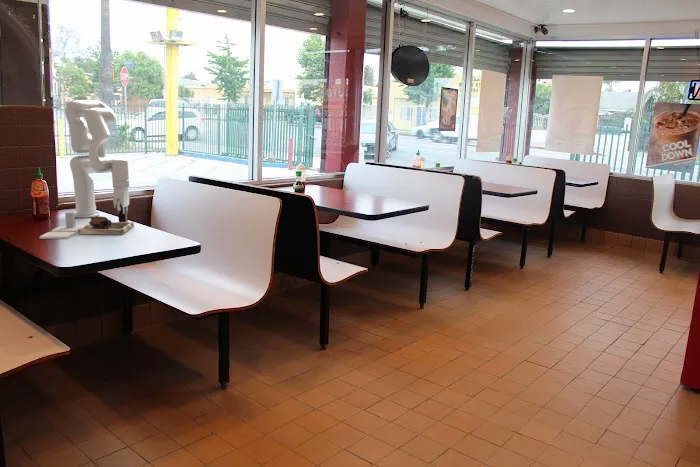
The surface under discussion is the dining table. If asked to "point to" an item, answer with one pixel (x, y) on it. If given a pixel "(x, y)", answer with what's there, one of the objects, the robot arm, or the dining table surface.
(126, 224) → the beige rectangular tray
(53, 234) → the white base with block
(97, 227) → the brown rounded lump
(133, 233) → the dining table surface
